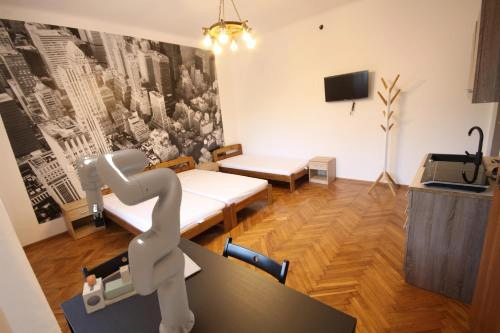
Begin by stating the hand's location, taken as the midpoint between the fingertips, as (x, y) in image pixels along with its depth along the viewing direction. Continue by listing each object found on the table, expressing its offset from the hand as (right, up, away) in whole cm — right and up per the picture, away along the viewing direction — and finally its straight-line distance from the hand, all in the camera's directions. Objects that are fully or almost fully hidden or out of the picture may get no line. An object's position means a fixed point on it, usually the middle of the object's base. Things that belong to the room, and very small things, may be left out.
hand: (101, 221), depth 100 cm
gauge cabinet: (0, -34, -3) cm, 34 cm away
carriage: (+8, -31, +1) cm, 32 cm away
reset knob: (-1, -25, -4) cm, 25 cm away
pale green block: (+11, -32, +3) cm, 34 cm away
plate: (+28, -29, +14) cm, 43 cm away
